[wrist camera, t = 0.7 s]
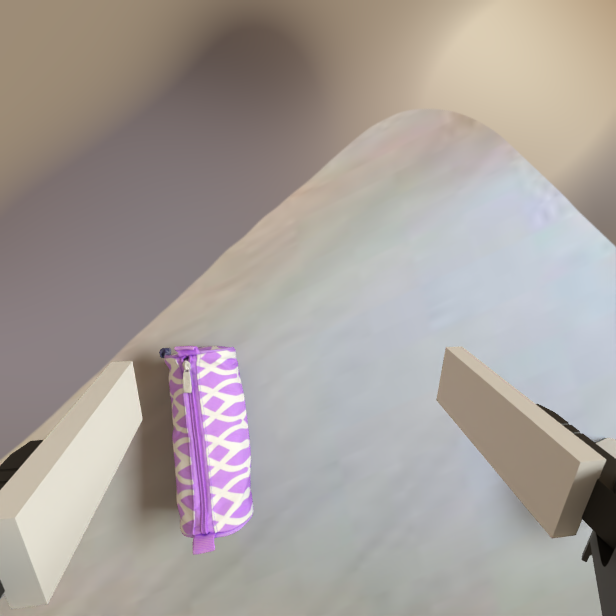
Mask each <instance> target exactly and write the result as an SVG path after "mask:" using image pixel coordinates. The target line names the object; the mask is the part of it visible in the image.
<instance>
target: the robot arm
mask: <svg viewBox="0 0 616 616" xmlns="http://www.w3.org/2000/svg"><path fill="white" fill-rule="evenodd" d="M437 401H438V402H439V404H440V405H441V406H442V407H443V408H444V410H445V411H446V412H447V413H448V414H449V416H450V417H451V418H452V419H453V420H454V422H455V423H456V424H457V425H458V426H459V428H460V429H461V430H462V431H463V432H464V434H465V435H466V436H467V437H468V438H469V440H470V441H471V442H472V443H473V444H474V446H475V447H476V448H477V449H478V450H479V452H480V453H481V454H482V455H483V456H484V458H485V459H486V460H487V461H488V462H489V464H490V465H491V466H492V467H493V468H494V470H495V471H496V472H497V473H498V474H499V476H500V477H501V478H502V479H503V480H504V481H505V483H506V484H507V485H508V486H509V487H510V489H511V490H512V491H513V492H514V493H515V495H516V496H517V497H518V498H519V499H520V501H521V502H522V503H523V504H524V505H525V507H526V508H527V509H528V510H529V511H530V513H531V514H532V515H533V516H534V517H535V519H536V520H537V521H538V522H539V523H540V525H541V526H542V527H543V528H544V529H545V531H546V532H547V533H548V534H549V535H550V537H551V538H558V537H566V536H573V535H576V533H577V531H578V528H579V526H580V523H581V521H582V519H583V520H584V521H585V522H586V523H587V524H588V525H589V526H590V527H591V528H592V529H593V531H592V533H591V536H590V538H589V540H588V543H587V545H586V547H585V550H584V552H583V555H582V560H583V561H585V562H587V560H588V558H589V556H590V555H592V557H593V562H594V568H595V574H596V580H597V586H598V592H599V598H600V604H601V610H602V616H616V458H614V457H613V456H612V455H610V454H609V453H608V452H606V451H605V450H604V449H602V448H601V447H600V446H598V445H597V444H596V443H594V442H593V441H592V440H590V439H589V438H588V437H587V436H585V435H584V434H580V431H579V430H577V429H576V428H575V427H573V426H572V425H569V424H568V422H567V421H565V420H564V419H563V418H561V417H560V416H559V415H558V414H556V413H555V412H553V411H551V410H549V409H547V408H545V407H543V406H541V405H539V404H535V403H533V402H532V401H531V400H530V399H528V398H527V397H526V396H524V395H523V394H522V393H521V392H519V391H518V390H517V389H515V388H514V387H513V386H512V385H510V384H509V383H508V382H506V381H505V380H504V379H503V378H501V377H500V376H499V375H498V374H496V373H495V372H494V371H492V370H491V369H490V368H489V367H487V366H486V365H485V364H483V363H482V362H481V361H480V360H478V359H477V358H476V357H474V356H473V355H472V354H471V353H469V352H468V351H467V350H466V349H464V348H463V347H446V349H445V355H444V360H443V366H442V372H441V377H440V383H439V389H438V394H437ZM142 420H143V418H142V413H141V407H140V401H139V396H138V390H137V384H136V379H135V373H134V367H133V362H132V361H121V362H111V363H110V364H109V365H108V366H107V368H106V369H105V370H104V371H103V372H102V373H101V375H100V376H99V377H98V378H97V379H96V380H95V381H94V383H93V384H92V385H91V386H90V387H89V388H88V390H87V391H86V392H85V393H84V394H83V395H82V396H81V398H80V399H79V400H78V401H77V402H76V403H75V405H74V406H73V407H72V408H71V409H70V410H69V411H68V413H67V414H66V415H65V416H64V417H63V418H62V420H61V421H60V422H59V423H58V424H57V425H56V427H55V428H54V429H53V430H52V431H51V432H50V433H49V435H48V436H47V437H46V438H45V439H44V440H37V441H30V442H29V443H27V444H26V445H24V446H23V447H21V448H20V449H18V450H17V451H15V452H14V453H12V454H11V455H10V456H9V457H8V458H7V459H6V460H5V461H4V462H3V463H2V464H1V466H0V598H1V596H2V595H3V593H4V595H5V597H6V599H7V602H8V604H9V606H10V608H11V609H17V608H25V607H33V606H40V605H48V603H49V601H50V599H51V597H52V595H53V593H54V591H55V589H56V587H57V585H58V583H59V581H60V579H61V577H62V575H63V573H64V571H65V570H66V568H67V566H68V564H69V562H70V560H71V558H72V556H73V554H74V552H75V550H76V548H77V546H78V544H79V542H80V540H81V538H82V536H83V535H84V533H85V531H86V529H87V527H88V525H89V523H90V521H91V519H92V517H93V515H94V513H95V511H96V509H97V507H98V505H99V503H100V501H101V499H102V498H103V496H104V494H105V492H106V490H107V488H108V486H109V484H110V482H111V480H112V478H113V476H114V474H115V472H116V470H117V468H118V466H119V464H120V463H121V461H122V459H123V457H124V455H125V453H126V451H127V449H128V447H129V445H130V443H131V441H132V439H133V437H134V435H135V433H136V431H137V429H138V427H139V426H140V424H141V422H142Z"/></svg>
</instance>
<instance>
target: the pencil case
mask: <svg viewBox="0 0 616 616" xmlns="http://www.w3.org/2000/svg"><path fill="white" fill-rule="evenodd" d="M174 349H175V351H177V352H178V353H176V354H173V355H171V349H170V348H162V349H161V350H160V352H159V353H160V357H161V358H164V362H165V363H166V365H167V366H168V368H169V377H168V379H169V387H170V397H171V403H172V421H173V426H174V430H173V434H172V440H173V451H174V459H175V475H176V484H177V506H178V510H179V513H180V529H181V532H182V534H183V535H184V536H186V537H191V538H194V539H193V554H201V553H205V552H210V551H214V550H215V545H214V538H217V537H224V536H228V535H231V534H233V533H235V532H237V531H238V530H240V529H241V528H242V527H243V526H244V525H245V524H246V523H247V522H248V521H249V520H250V519H251V517H252V515H253V510H254V506H253V501H252V494H251V490H250V468H251V452H250V441H249V430H248V422H247V414H246V407H245V398H244V393H243V389H242V384H241V379H240V373H239V368H238V362H237V360H236V351H235V349H234V347H222V346H206V347H199V348H198V347H196V346H180V347H175V348H174Z"/></svg>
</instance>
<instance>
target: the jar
mask: <svg viewBox="0 0 616 616" xmlns="http://www.w3.org/2000/svg"><path fill="white" fill-rule="evenodd" d="M596 444H597V445H598V446H600V447H601V448H602V449H604V450H605V451H606V452H608V453H609V454H610V455H612V456H613V457H614V458H616V440H615V439H611V438H606V439H604V440H602V441H599V442H597V443H596Z"/></svg>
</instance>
